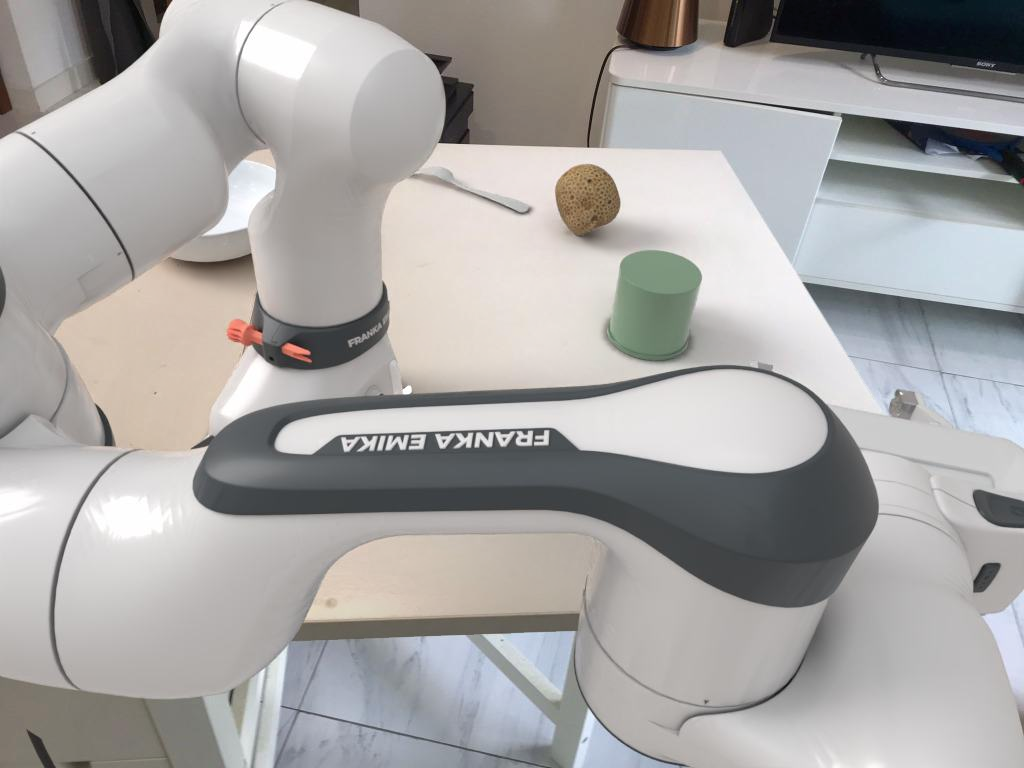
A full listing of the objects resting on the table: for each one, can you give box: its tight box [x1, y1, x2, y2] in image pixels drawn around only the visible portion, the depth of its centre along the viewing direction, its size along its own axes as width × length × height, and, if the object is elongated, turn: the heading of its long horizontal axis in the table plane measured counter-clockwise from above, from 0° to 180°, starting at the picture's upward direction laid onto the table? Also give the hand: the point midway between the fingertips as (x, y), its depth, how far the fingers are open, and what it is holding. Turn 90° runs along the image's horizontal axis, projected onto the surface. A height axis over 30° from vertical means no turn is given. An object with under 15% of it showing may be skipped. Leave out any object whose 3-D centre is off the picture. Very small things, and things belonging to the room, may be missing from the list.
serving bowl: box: [169, 159, 276, 263], centre depth 104 cm, size 21×21×7 cm
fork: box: [412, 166, 529, 214], centre depth 121 cm, size 3×21×3 cm, turn 60°
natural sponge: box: [554, 163, 621, 236], centre depth 111 cm, size 9×9×10 cm
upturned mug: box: [606, 249, 703, 362], centre depth 93 cm, size 12×10×9 cm
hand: (830, 384), depth 53 cm, fingers open, 8 cm apart
